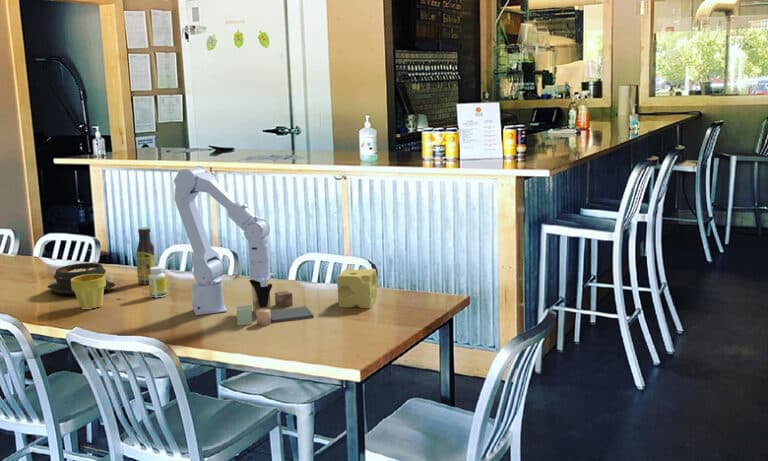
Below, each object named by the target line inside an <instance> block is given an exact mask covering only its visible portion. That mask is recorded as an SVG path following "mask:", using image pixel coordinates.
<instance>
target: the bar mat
mask: <svg viewBox="0 0 768 461" xmlns="http://www.w3.org/2000/svg"><path fill="white" fill-rule="evenodd" d="M270 312H271V323H272V324H273V323H280V322H287V321H288V322H289V321H290V322H291V321H297V320H303V319H311V318H312V319H313V318H314V314H313V313H312V311H311V310H310V309H309V308H308V306H305V305H304V306H299V307H298V306H297V307H290V308H288V307H287V308H280V309H271V311H270Z"/></svg>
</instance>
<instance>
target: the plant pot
mask: <svg viewBox="0 0 768 461" xmlns="http://www.w3.org/2000/svg"><path fill="white" fill-rule="evenodd" d="M106 280H107V279H106V276H105V274H104V275H103V274H87V275H81V276H77V277H74V278H72V279H71V287H72V290H73V291H74V292H75V294H76V295H75V297H76V300H77V302H78V306H79V307H81V308H96V307H99V308H101V307H103V303H104V292H105V290H104V287H105V286H106ZM100 306H101V307H100ZM81 308H80V309H81ZM96 309H97V308H96Z"/></svg>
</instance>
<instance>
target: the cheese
mask: <svg viewBox="0 0 768 461" xmlns="http://www.w3.org/2000/svg"><path fill="white" fill-rule="evenodd" d="M336 280H337V281H336V282H337V301H338V307H339V308H357V307H358V308H359V309H371V308H372V306H373V305H374V303H375V302H376V301H377V298H378V297H377V295H378V277H377V270H376V268H368V269H365V268H364V269H344V270H343V271H342V272H341V273H340V274H339V275H337V279H336Z"/></svg>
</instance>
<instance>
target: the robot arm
mask: <svg viewBox="0 0 768 461" xmlns="http://www.w3.org/2000/svg"><path fill="white" fill-rule="evenodd" d="M173 183H174V185H175V187H174V188H175V189H174V202H175V206H176V207H177V211H178V213H179V217H180V219H181V221H182V224H183V228H184V231H185V232H186V236H187V238H188V241H189V244H190V246H191V249H192V252H193V257H192V261H191V264H192V268H193V270H192V271H193V272H192V274H193V278H194V280H195V281H196V283H193V284H191V296H192V297H191V298H192V303H191V306H192V309H193V312H194V315H196V316H200V315H208V314H217V313H223V312H224V313H225V312H227V311H228V309H227V308H226V305H225V301H224V300H225V299H224V287H223V286H224V284H223V275H224V274H225V272H226V265H225V262H224V261H223V260H222V259H221V258H220V257H219V253H218V252H217V251H215V249H213V248H212V245H211V242H210V241H209V238H208V235H207V232H206V230H205V226H204V224H203V221H202V218H201V214H200V213H199V209H198V207H197V203H196V201H195V200H196V198H197V196H198V194H199V192H200V193H206V194H208V195H209V196H211V197H212V198H213V199H214V200H215V201H216V202H218V203H219V204H220V205H221V206H223V208H224V209H225V210H226V211H227V217H228V218H229V219H231V220H232V221H233V222H234V223H235V225H236V226H238V227H239V228H240V230H242V231H243V235H244V237H245V239H246V241H247V243H248V259H249V261H248V262H249V272H250V275H249V278H250V279H248V282H249V283H250V284H251V287H252V286H253V287H254V289H255V291H256V294H257V297H258V302H259V306H260V307H267V305H268V298H269V293H270V294H271V290H272V288H273V283H268V281H269V280H270V278H271V277H274V275H275V274H274V273H273V272H270V259H269V258H270V257H269V245H268V244H269V243H268V236H269V234H270V232H271V229H270V224H269V223H268V222H267V220H266V219H263V218H260V217H259V215H256V214H254V212H252V211H251V210H250V209H249V208H248V207H249V206H248V204H246V203H244V202H242V201H235V199H233V197H232V196H231V195H230V194H229V193H228V192H227V190H225V189H224V188H223V187H222V185H220V183H218V181H217V180H216V179H215V178H214V175H213V174H212V173H211V172H210V171H208V170H207V169H206V167H204V166H201V165H197V166H194V167H191V168H184V169H181V170H179V171H178V172H177V174H175V177H174V179H173Z"/></svg>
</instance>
